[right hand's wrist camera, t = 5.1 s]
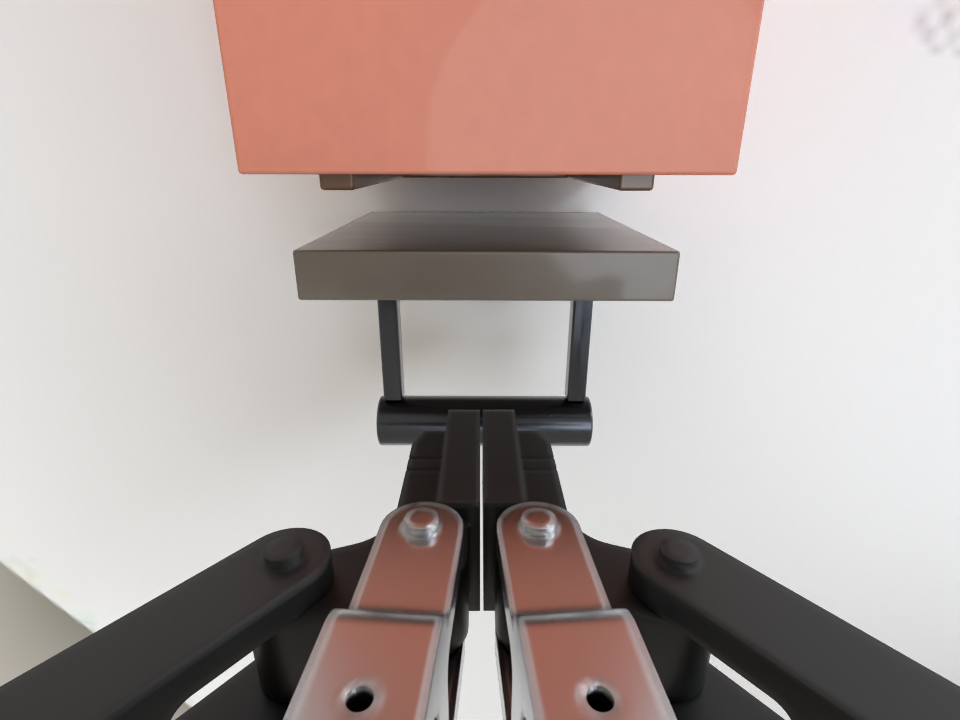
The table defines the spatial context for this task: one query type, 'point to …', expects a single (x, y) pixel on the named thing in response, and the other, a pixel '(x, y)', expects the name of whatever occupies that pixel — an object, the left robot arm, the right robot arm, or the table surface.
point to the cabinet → (488, 85)
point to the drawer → (486, 288)
